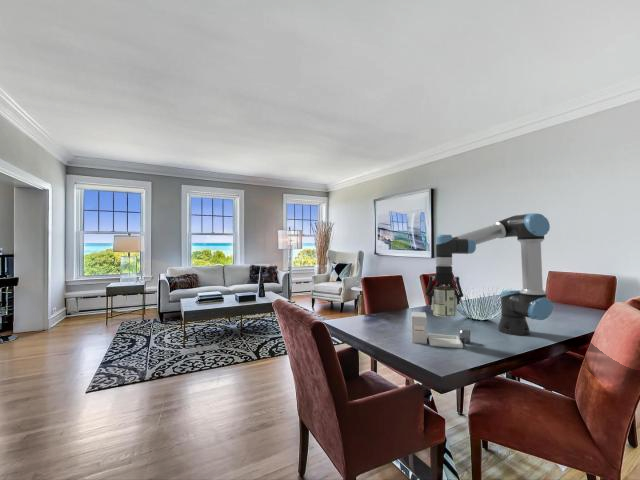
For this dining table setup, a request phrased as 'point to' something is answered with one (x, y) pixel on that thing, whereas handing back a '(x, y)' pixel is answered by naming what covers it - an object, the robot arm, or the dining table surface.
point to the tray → (445, 341)
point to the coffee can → (444, 301)
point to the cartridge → (464, 336)
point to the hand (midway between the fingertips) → (444, 310)
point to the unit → (419, 327)
